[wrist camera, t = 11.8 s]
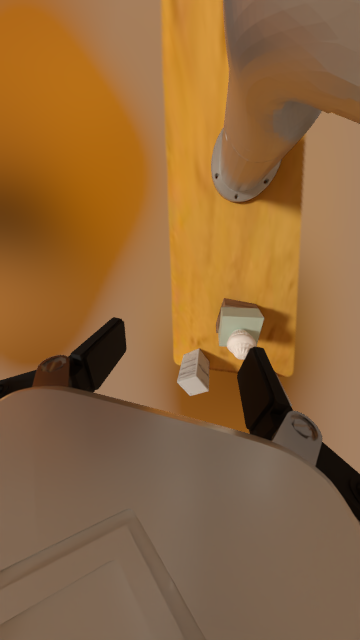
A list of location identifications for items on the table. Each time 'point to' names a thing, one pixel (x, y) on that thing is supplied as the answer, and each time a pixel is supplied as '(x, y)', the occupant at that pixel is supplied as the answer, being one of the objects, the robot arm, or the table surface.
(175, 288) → the table surface
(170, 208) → the table surface
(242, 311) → the top block
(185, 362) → the supplement box
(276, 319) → the table surface
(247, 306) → the bottom block
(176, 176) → the table surface
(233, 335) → the muffin
